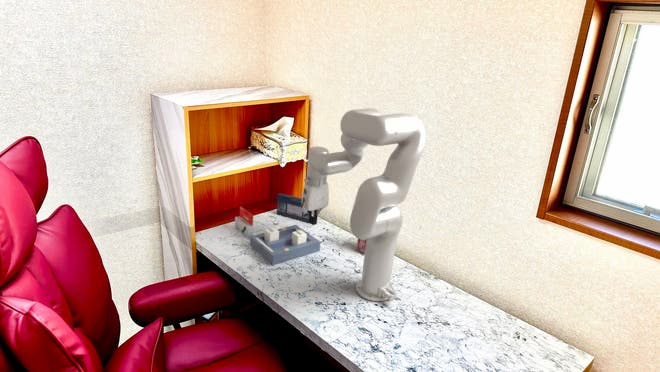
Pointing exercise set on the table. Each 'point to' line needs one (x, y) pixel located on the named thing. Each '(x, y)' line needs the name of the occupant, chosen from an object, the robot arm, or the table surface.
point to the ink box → (244, 223)
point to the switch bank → (284, 246)
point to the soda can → (361, 245)
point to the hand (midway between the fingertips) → (312, 223)
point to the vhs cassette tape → (291, 208)
